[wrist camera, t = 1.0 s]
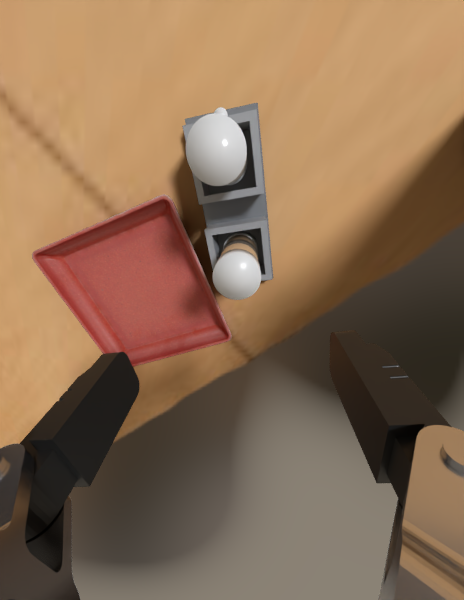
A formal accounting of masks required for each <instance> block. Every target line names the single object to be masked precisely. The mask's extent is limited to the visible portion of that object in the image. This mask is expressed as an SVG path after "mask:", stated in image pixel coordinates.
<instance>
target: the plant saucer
mask: <svg viewBox="0 0 464 600" xmlns="http://www.w3.org/2000/svg"><path fill="white" fill-rule="evenodd" d="M32 258H33V260H34V262H35V263H36V265H37V266H38V267H39V268H40V270H41V271H42V273H43V274H44V275H45V277H46V278H47V279H48V280H49V282H50V283H51V284H52V286H53V287H54V288H55V290H56V291H57V293H58V294H59V295H60V297H61V298H62V299H63V301H64V302H65V303H66V305H67V306H68V307H69V309H70V310H71V311H72V313H73V314H74V315H75V317H76V318H77V319H78V321H79V322H80V323H81V325H82V326H83V328H84V329H85V330H86V331H87V333H88V334H89V336H90V337H91V338H92V340H93V341H94V342H95V343H96V345H97V346H98V347H99V349H100V350H101V352H102V353H103V354H105V353H115V352H125V353H126V354H127V356H128V358H129V360H130V362H131V364H132V366H137V365H141V364H145V363H149V362H152V361H156V360H161V359H164V358H168V357H171V356H175V355H179V354H183V353H186V352H190V351H194V350H198V349H201V348H205V347H209V346H213V345H217V344H221V343H224V342H227V341H230V339H231V337H232V335H231V332H230V330H229V327H228V325H227V323H226V321H225V318H224V316H223V314H222V312H221V309H220V307H219V305H218V303H217V300H216V298H215V296H214V294H213V291H212V289H211V287H210V285H209V282H208V280H207V278H206V276H205V273H204V271H203V269H202V266H201V264H200V262H199V260H198V257H197V255H196V253H195V251H194V248H193V246H192V244H191V241H190V239H189V237H188V235H187V232H186V230H185V228H184V226H183V223H182V221H181V218H180V216H179V214H178V212H177V209H176V207H175V205H174V203H173V201H172V199H171V198H170V197H169V196H167V195H161V196H158V197H156V198H154V199H152V200H149V201H147V202H144V203H142V204H140V205H138V206H136V207H133V208H131V209H129V210H126V211H124V212H122V213H120V214H118V215H115V216H113V217H110V218H109V219H107V220H104V221H102V222H99V223H97V224H95V225H93V226H91V227H88V228H85V229H83V230H81V231H79V232H77V233H75V234H72V235H70V236H68V237H65V238H63V239H61V240H59V241H56V242H54V243H52V244H49V245H47V246H45V247H42V248H40V249H38V250H36V251H34V252H33V254H32Z"/></svg>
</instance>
